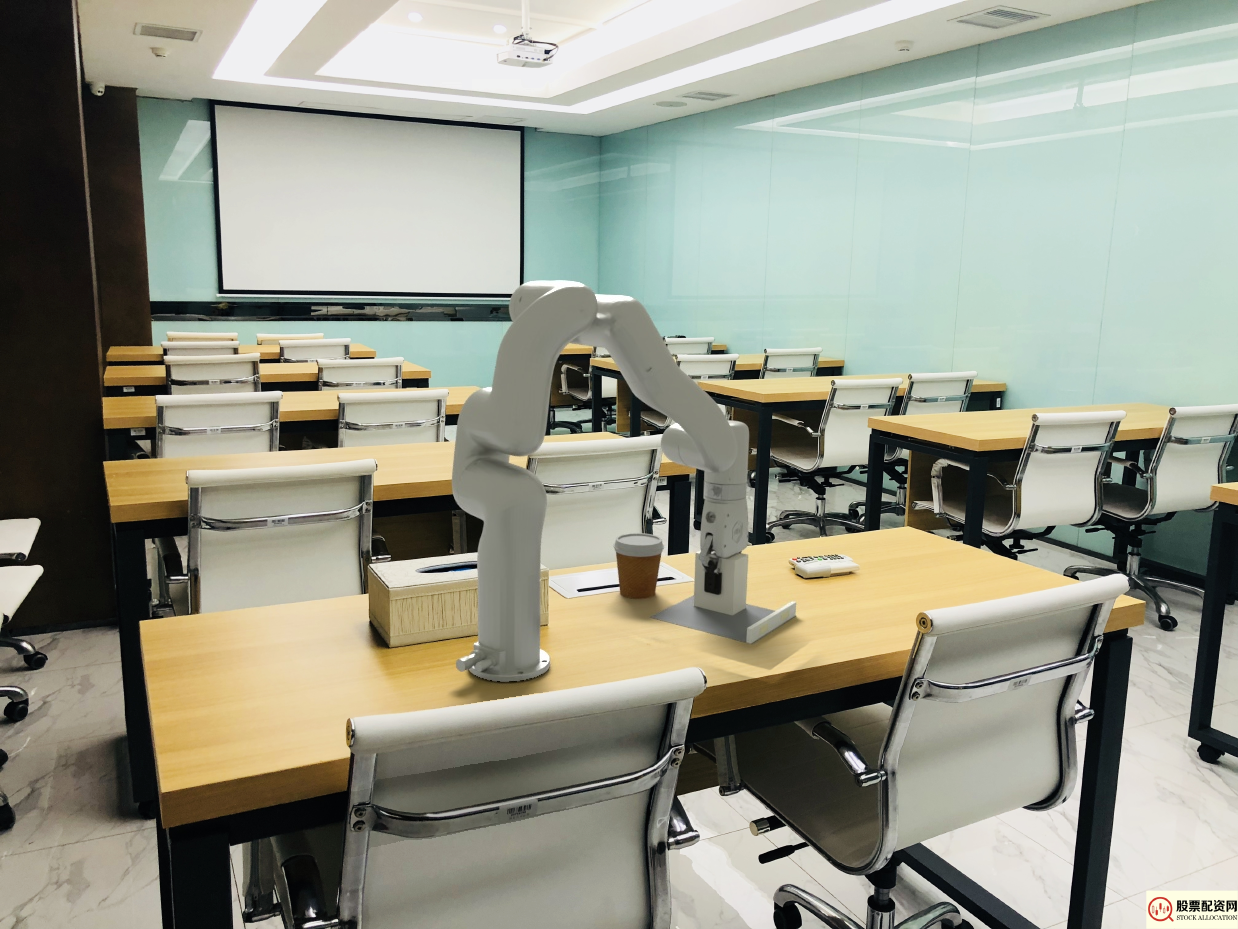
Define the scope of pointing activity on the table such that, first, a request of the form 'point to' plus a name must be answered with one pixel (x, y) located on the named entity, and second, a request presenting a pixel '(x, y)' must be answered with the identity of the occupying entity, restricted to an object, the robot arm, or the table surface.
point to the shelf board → (728, 620)
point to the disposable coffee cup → (638, 564)
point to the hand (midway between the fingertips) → (721, 587)
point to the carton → (723, 585)
